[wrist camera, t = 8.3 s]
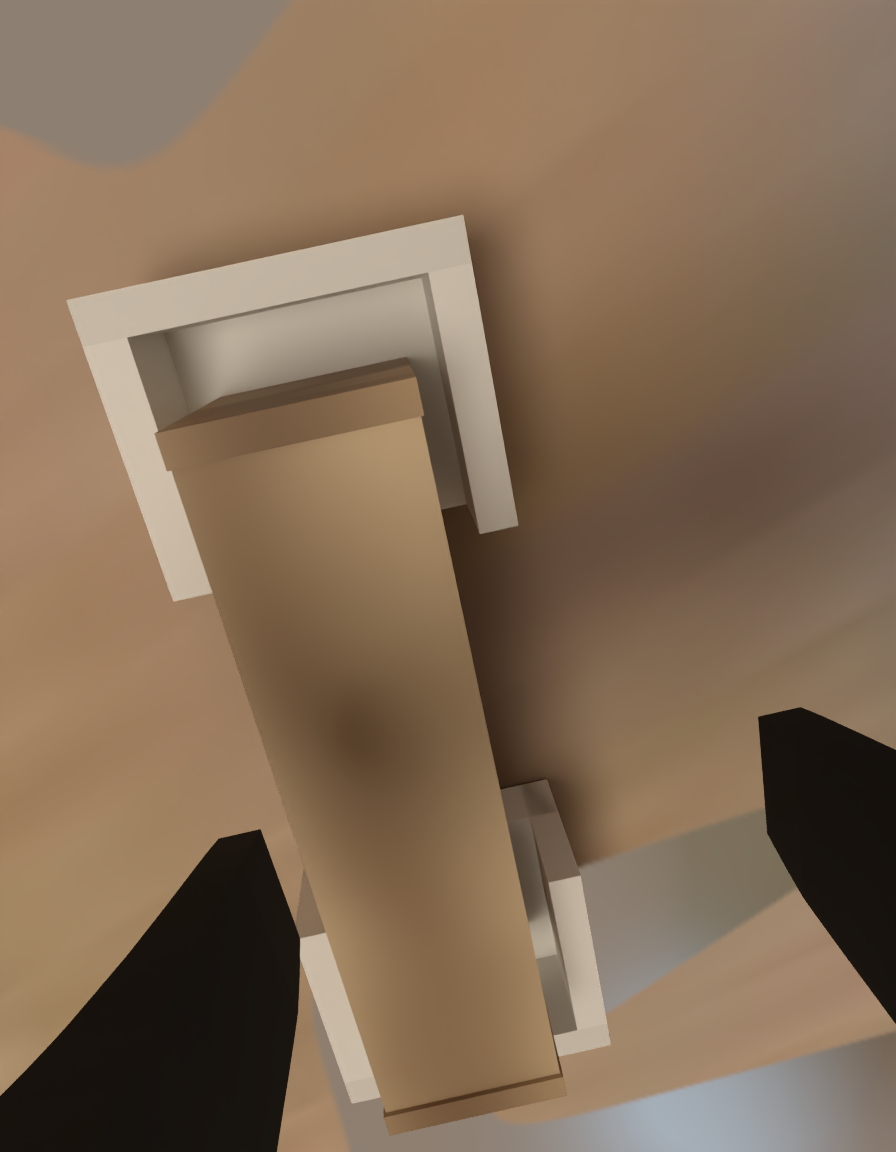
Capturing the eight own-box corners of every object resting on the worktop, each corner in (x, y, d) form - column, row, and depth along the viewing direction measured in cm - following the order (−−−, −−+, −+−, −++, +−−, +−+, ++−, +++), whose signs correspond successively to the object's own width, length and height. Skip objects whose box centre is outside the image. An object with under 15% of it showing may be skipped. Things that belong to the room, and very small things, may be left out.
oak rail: (405, 356, 16) (416, 377, 12) (526, 923, 22) (567, 1095, 17) (220, 396, 16) (154, 434, 12) (388, 954, 22) (389, 1135, 17)
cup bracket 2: (547, 778, 22) (581, 875, 18) (575, 930, 24) (610, 1044, 20) (308, 832, 22) (293, 939, 18) (356, 979, 24) (352, 1103, 20)
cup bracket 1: (444, 235, 17) (462, 214, 13) (491, 482, 19) (518, 525, 15) (135, 301, 17) (65, 300, 13) (214, 543, 19) (173, 601, 15)
